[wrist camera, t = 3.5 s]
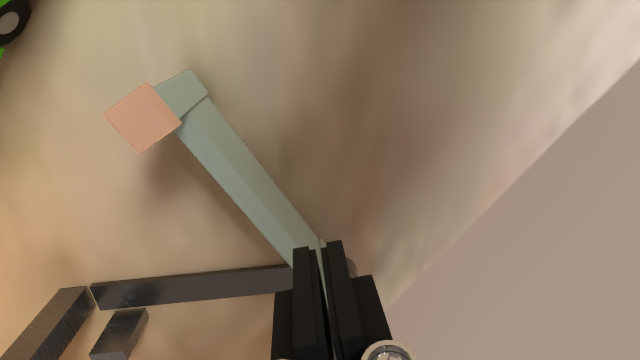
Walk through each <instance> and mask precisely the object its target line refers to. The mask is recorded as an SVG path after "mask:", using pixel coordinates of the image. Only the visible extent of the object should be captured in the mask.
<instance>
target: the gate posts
mask: <svg viewBox="0 0 640 360" xmlns="http://www.w3.org/2000/svg"><path fill="white" fill-rule="evenodd" d="M346 262H347V266H348V271H349V275H350V278H354V277H358V274H357V270H356V266H355V264H354V263H353V261H351V260H350V259H348V258H346ZM90 289H91V292H92V294H93V296H94V298H95V300H96V302H97V304H98V306H99V309H100V310H110V309H120V308H129V307H139V306H149V305H159V304H169V303H179V302H189V301H199V300H209V299H219V298H229V297H238V296H248V295H258V294H268V293H276V292H277V291H283V290H288V289H293V269H292V268H291V267H290V265H289V264H283V265H273V266H263V267H253V268H243V269H233V270H223V271H212V272H202V273H192V274H182V275H172V276H162V277H152V278H142V279H132V280H122V281H111V282H101V283H92V284H91V286H90ZM95 306H96V305H95V303H94V301H93V299H92V296H91V294H90V292H89V290H88V288H87V286H82V287H72V288H62V289H60V290H59V291H58V292H57V293H56V294H55V295H54V296H53V298H52V299H51V300H50V301H49V302H48V303H47V305H46V306H45V307H44V308H43V309H42V310H41V311H40V313H39V314H38V315H37V316H36V317H35V318H34V320H33V321H32V322H31V323H30V324H29V325H28V326H27V328H26V329H25V330H24V331H23V332H22V333H21V334H20V336H19V337H18V338H17V339H16V340H15V341H14V343H13V344H12V345H11V346H10V347H9V348H8V349H7V351H6V352H5V353H4V354H3V355H2V356H1V358H0V360H58V359H59V357H60V356H61V355H62V353H63V352H64V350H65V349H66V347H67V346H68V345H69V343H70V342H71V340H72V339H73V337H74V336H75V334H76V333H77V332H78V330H79V329H80V327H81V326H82V324H83V323H84V321H85V320H86V319H87V317H88V316H89V314H90V313H91V311H92V310H93V309H94V307H95ZM328 313H329V312H328ZM148 318H149V316H148V313H147V311H146V308H141V309H131V310H122V311H115V313H114V314H113V316H112V318H111V319H110V321H109V323H108V324H107V326H106V327H105V329H104V331H103V332H102V334H101V336H100V337H99V339H98V340H97V342H96V344H95V345H94V347H93V349H92V350H91V352H90V353H89V357H90V358H91V360H128V359H129V357H130V355H131V353H132V351H133V349H134V347H135V345H136V343H137V341H138V339H139V337H140V334H141V332H142V330H143V328H144V326H145V324H146V322H147V320H148ZM331 335H332V334H331ZM332 342H333V341H332ZM333 350H334V346H333ZM334 358H335V360H336V356H335V351H334Z"/></svg>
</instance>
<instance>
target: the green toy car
mask: <svg viewBox="0 0 640 360" xmlns="http://www.w3.org/2000/svg"><path fill="white" fill-rule="evenodd" d="M30 14H31V9H30V6H29V3H28V1H27V0H0V58H1V56H2V54H3V52H4V50H5V49H4V48H2V47H1V46H2V45H5V44H8V43H10V42H11V41H12V40H14V39H15V38H16V37H17V36H19V35H20V34H21V32H22V31H23V30H24V28H25V26H26V24H27V22H28V20H29V18H30Z"/></svg>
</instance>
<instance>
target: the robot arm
mask: <svg viewBox="0 0 640 360" xmlns="http://www.w3.org/2000/svg"><path fill="white" fill-rule="evenodd" d="M320 250H321V257H322V265H323V273H324V281H325V288H326V296H327V302H326V297H325V293H324V288H323V283H322V278H321V273H320V268H319V263H318V258H317V254H316V249H312V250H310V249H309V246H304V247H299V248H293V289H288V290H283V291H277V292H276V293H275V301H274V317H273V333H272V349H271V360H335V358H334V351H335V356H336V360H419V359H418V357H417V355H416V354H415V353H414V352H413V350H412V349H411V348H409V347H408V346H407V345H405V344H403V343H401V342H398V341H393V339H392V336H391V333H390V330H389V327H388V324H387V321H386V318H385V314H384V311H383V308H382V305H381V302H380V299H379V296H378V293H377V289H376V286H375V283H374V280H373V277H372V275H365V276H360V277H354V278H350V275H349V271H348V266H347V262H346V258H345V254H344V249H343V245H342V241H341V240H337V241H332V242H326V247H323V248H320ZM327 304H328V307H327ZM328 312H329V313H328ZM331 334H332V335H331ZM332 341H333V342H332ZM333 346H334V350H333Z"/></svg>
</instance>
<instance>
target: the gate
mask: <svg viewBox="0 0 640 360" xmlns="http://www.w3.org/2000/svg"><path fill="white" fill-rule="evenodd" d="M208 93H209V92H208V91H207V90H206V88H205V87H204V86H203V85H202V83H201V82H200V81H199V79H198V78H197V77H196V76H195V74H194V73H193V72H192V70H191V69H189V70H187V71H185V72H183V73H181V74H179V75H177V76H174V77H172V78H170V79H168V80H166V81H164V82H162V83H160V84H158V85H156V86H154V87H151V86H150V84H149V83H146V84H144V85H142V86H140V87H138V88H137V89H135V90H134V91H133V92H131V93H130V94H129V95H127V96H126V97H125V98H123V99H122V100H121V101H119V102H118V103H117V104H115V105H114V106H112V107H111V108H110V109H108V110H107V111H106V112H104V113H103V114H102V115H103V116H104V117H105V118H106V119H107V121H108V122H109V123H110V124H111V125H112V126H113V127H114V128H115V129H116V130H117V131H118V132H119V133H120V134H121V135H122V136H123V137H124V139H125V140H126V141H127V142H128V143H129V144H130V145H131V146H132V147H133V148H134V149H135V150H136V151H137V152H138V153H139V154H140V153H142V152H143V151H145V150H146V149H147V148H149V147H150V146H152V145H153V144H155V143H156V142H158V141H159V140H160V139H162V138H163V137H165V136H166V135H168V134H169V133H171V132H172V131H173V132H174V133H175V134H176V135H177V136H178V137H179V138H180V140H181V141H182V142H183V143H184V144H185V145H186V147H187V148H188V149H189V150H190V151H191V152H192V153H193V155H194V156H195V157H196V158H197V159H198V160H199V162H200V163H201V164H202V165H203V166H204V167H205V168H206V170H207V171H208V172H209V173H210V174H211V175H212V177H213V178H214V179H215V180H216V181H217V182H218V183H219V185H220V186H221V187H222V188H223V189H224V190H225V192H226V193H227V194H228V195H229V196H230V197H231V198H232V200H233V201H234V202H235V203H236V204H237V205H238V207H239V208H240V209H241V210H242V211H243V212H244V213H245V215H246V216H247V217H248V218H249V219H250V220H251V222H252V223H253V224H254V225H255V226H256V227H257V228H258V230H259V231H260V232H261V233H262V234H263V235H264V237H265V238H266V239H267V240H268V241H269V242H270V243H271V245H272V246H273V247H274V248H275V249H276V250H277V252H278V253H279V254H280V255H281V256H282V257H283V258H284V260H285V261H286V262H287V263H288V264H289V265H290V267H291V268H292V269H293V248H299V247H304V246H309V249H310V250H312V249H316V254H317V258H318V263H319V268H320V273H321V278H322V283H323V288H324V293H325V297H326V302H327V296H326V288H325V281H324V273H323V265H322V257H321V250H320V248H323V247H326V243H325V242H324V241H323V239H322V238H321V237H319V238H318V237H317V236H316V235H315V233H314V232H313V231H312V230H311V228H310V227H309V226H308V224H307V223H306V222H305V221H304V219H303V218H302V217H301V216H300V214H299V213H298V212H297V210H296V209H295V208H294V207H293V205H292V204H291V203H290V201H289V200H288V199H287V198H286V196H285V195H284V194H283V192H282V191H281V190H280V189H279V187H278V186H277V185H276V183H275V182H274V181H273V180H272V178H271V177H270V176H269V175H268V173H267V172H266V171H265V169H264V168H263V167H262V166H261V164H260V163H259V162H258V160H257V159H256V158H255V157H254V155H253V154H252V153H251V151H250V150H249V149H248V148H247V146H246V145H245V144H244V143H243V141H242V140H241V139H240V137H239V136H238V135H237V134H236V132H235V131H234V130H233V128H232V127H231V126H230V125H229V123H228V122H227V121H226V119H225V118H224V117H223V116H222V114H221V113H220V112H219V110H218V109H217V108H216V107H215V105H214V104H213V103H212V102H211V100H210V99H209V98H208V96H207V94H208ZM327 307H328V304H327Z"/></svg>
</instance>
